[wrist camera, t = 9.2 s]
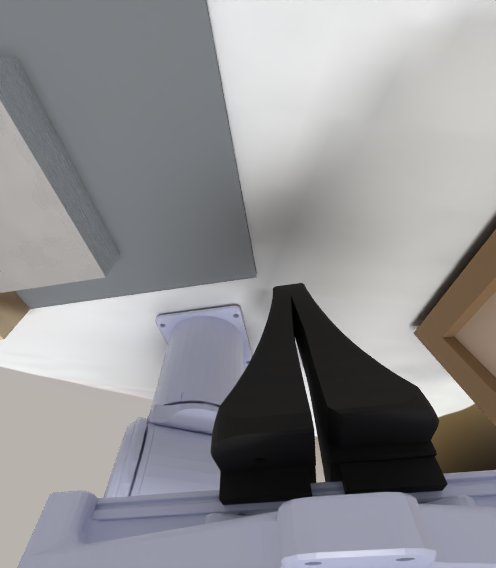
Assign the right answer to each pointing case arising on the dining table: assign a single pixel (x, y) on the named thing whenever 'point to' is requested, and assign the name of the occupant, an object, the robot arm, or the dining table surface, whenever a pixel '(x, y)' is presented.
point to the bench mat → (138, 137)
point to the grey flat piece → (43, 198)
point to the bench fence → (10, 312)
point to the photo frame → (468, 329)
